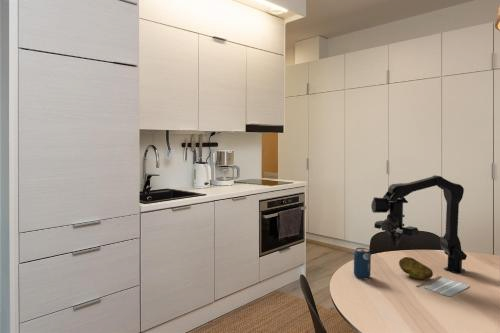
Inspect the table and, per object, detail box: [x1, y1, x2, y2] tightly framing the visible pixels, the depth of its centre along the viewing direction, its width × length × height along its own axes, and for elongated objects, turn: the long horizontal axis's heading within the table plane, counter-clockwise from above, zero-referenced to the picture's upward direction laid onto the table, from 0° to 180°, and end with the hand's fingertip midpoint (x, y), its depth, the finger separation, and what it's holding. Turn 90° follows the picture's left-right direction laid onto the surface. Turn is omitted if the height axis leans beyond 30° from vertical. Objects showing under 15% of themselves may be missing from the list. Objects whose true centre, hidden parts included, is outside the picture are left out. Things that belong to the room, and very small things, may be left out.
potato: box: [398, 256, 434, 280], centre depth 158 cm, size 8×13×8 cm, turn 39°
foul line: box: [415, 275, 442, 288], centre depth 153 cm, size 18×1×1 cm, turn 126°
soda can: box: [353, 247, 372, 280], centre depth 158 cm, size 7×7×12 cm
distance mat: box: [423, 277, 470, 298], centre depth 147 cm, size 16×10×1 cm, turn 126°
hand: (395, 246), depth 165 cm, fingers closed
